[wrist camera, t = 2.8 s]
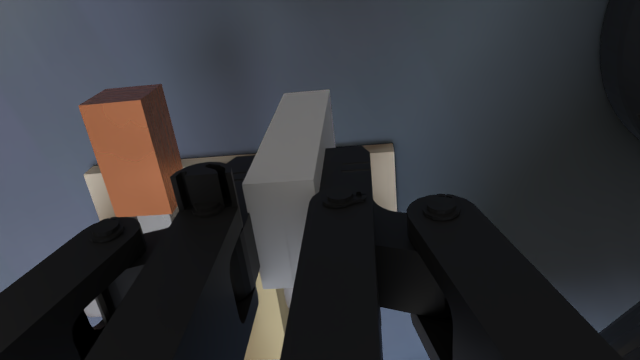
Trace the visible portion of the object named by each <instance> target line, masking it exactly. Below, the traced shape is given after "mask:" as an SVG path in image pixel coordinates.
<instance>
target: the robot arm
mask: <svg viewBox="0 0 640 360" xmlns="http://www.w3.org/2000/svg"><path fill="white" fill-rule="evenodd" d="M600 63H601V72H602V79H603V83H604V87H605V90H606V93H607V96H608V99H609V101H610V103H611V105H612V107H613V109H614V111H615V113H616V114H617V116H618V117H619V119H620V120H621V121H622V123H623V124H624V125H625V126H626V127H627V129H628V130H629V131H630V132H632V133H633V134H634V135H635V136H636V137H637V138H638V139H640V0H610V2H609V5H608V8H607V11H606V15H605V19H604V23H603V29H602V35H601V45H600ZM170 180H171V183H172V187H173V191H174V195H175V198H176V202H177V206H178V209H179V212H178V214H177V215H176V217H175V218H174V220H173V221H172V223H171V225H170V226H169V227H168V228H165V229H161V230H156V231H152V232H148V233H143V231H142V228H141V225H140V223H139V222H138V221H137V220H136V219H135V218H130V217H111V218H110V219H109V218H106V219H103V220H101V221H100V222H98V223H95V224H93V225H91V226H89V227H88V228H86V229H84V230H83V231H81V232H80V233H79V234H77V235H76V236H75V237H73V238H72V239H71V240H69V241H68V242H67V243H65V244H64V245H63V246H61V247H60V248H59V249H57V250H56V251H55V252H54V253H52V254H51V255H50V256H48V257H47V258H46V259H44V260H43V261H42V262H40V263H39V264H38V265H36V266H35V267H34V268H32V269H31V270H30V271H29V272H27V273H26V274H25V275H23V276H22V277H21V278H19V279H18V280H17V281H15V282H14V283H13V284H11V285H10V286H9V287H7V288H6V289H5V290H4V291H2V292H1V293H0V360H244V358H245V354H246V350H247V346H248V342H249V339H250V335H251V331H252V327H253V323H254V320H255V316H256V312H257V308H258V304H259V300H258V293H257V288H256V280H257V277H258V273H259V272H260V277H261V282H262V286H263V289H280V288H293V292H292V298H291V303H290V308H289V314H288V319H287V325H286V330H285V335H284V341H283V346H282V351H281V357H280V360H383V352H382V334H381V312H380V307H383V308H388V309H393V310H398V311H403V312H408V313H411V318H412V323H413V325H414V327H415V329H416V331H417V333H418V336H419V338H420V340H421V342H422V344H423V346H424V348H425V350H426V352H427V354H428V356H429V358H430V360H640V301H639V302H638V303H637V304H636V305H634V306H633V307H632V308H630V309H629V310H628V311H627V312H625V313H624V314H623V315H621V316H620V317H619V318H618V319H616V320H615V321H614V322H612V323H611V324H610V325H609V326H607V327H606V328H605V329H603V330H602V331H601V332H600V333H598V332H597V331H596V330H595V329H594V328H593V327H592V326H591V325H590V324H589V323H588V322H587V321H586V320H585V319H584V318H583V317H582V316H581V315H580V314H579V312H578V311H577V310H576V309H575V308H574V307H573V306H572V305H571V304H570V303H569V302H568V301H567V300H566V299H565V298H564V297H563V296H562V295H561V294H560V293H559V292H558V291H557V290H556V289H555V288H554V287H553V286H552V285H551V284H550V283H549V281H548V280H547V279H546V278H545V277H544V276H543V275H542V274H541V273H540V272H539V271H538V270H537V269H536V268H535V267H534V266H533V265H532V264H531V263H530V262H529V261H528V260H527V259H526V258H525V257H524V256H523V255H522V254H521V253H520V251H519V250H518V249H517V248H516V247H515V246H514V245H513V244H512V243H511V242H510V241H509V240H508V239H507V238H506V237H505V236H504V235H503V234H502V233H501V232H500V231H499V230H498V229H497V228H496V227H495V226H494V225H493V224H492V223H491V222H490V220H489V219H488V218H487V217H486V216H485V215H484V214H483V213H482V212H481V211H480V210H479V209H478V208H477V207H476V206H475V205H474V204H472V203H471V202H469V201H468V200H466V199H464V198H460V197H457V196H454V195H449V194H447V195H445V194H437V195H429V196H426V197H422V198H419V199H417V200H415V201H414V202H412V203H411V204H410V205H409V207H408V209H407V213H400V212H395V211H390V210H387V209H385V208H382V207H381V206H379V205H377V203H376V202H375V201H374V200H373V189H372V175H371V161H370V152H369V151H368V150H366V149H365V148H364V147H363V146H350V147H337V148H336V146H335V136H334V127H333V117H332V108H331V98H330V89H327V90H316V91H305V92H294V93H284V94H283V97H282V99H281V101H280V103H279V105H278V107H277V110H276V112H275V114H274V116H273V118H272V120H271V123H270V125H269V127H268V129H267V131H266V133H265V136H264V138H263V140H262V142H261V144H260V146H259V149H258V151H257V153H256V155H251V156H238V157H235V158H233V159H232V160H231V161H229V162H228V163H222V162H204V163H197V164H194V165H191V166H187V167H185V168H183V169H181V170H179V171H176V172H175V173H174V174H173V175H172V176H170ZM94 299H95V300H96V303H97V305H98V308H99V310H100V313H101V315H102V318H103V319H102V321H101V322H100V323H99V324H97V325H96V326H94V327H92V326H91V325H90V323H89V321H88V318H87V316H86V313H85V311H84V309H85V308H86V307H87V306H88V305H89V304H90V303H91V302H92V301H93V300H94Z"/></svg>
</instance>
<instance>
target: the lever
mask: <svg viewBox="0 0 640 360" xmlns="http://www.w3.org/2000/svg"><path fill="white" fill-rule="evenodd" d="M79 109H80V112H81V115H82V118H83V120H84V123H85V126H86V129H87V132H88V135H89V138H90V141H91V144H92V147H93V150H94V153H95V156H96V159H97V162H98V165H99V168H100V171H101V174H102V177H103V180H104V183H105V186H106V189H107V192H108V195H109V198H110V201H111V204H112V207H113V210H114V213H115V216H116V217H133V216H137V218H138V221H139V223H140V225H141V228H142V231H143V233H148V232H152V231H156V230H161V229H165V228H168V227H169V226H170V225H171V223H172V221H173V220H174V218H175V217H176V215H177V214H178V212H179V210H178V206H177V202H176V198H175V195H174V191H173V187H172V183H171V180H170V176H172V175H173V174H174V173H175V172H176V171H179V170H181V169H183V166H182V162H181V158H180V154H179V150H178V147H177V143H176V139H175V135H174V131H173V127H172V123H171V119H170V115H169V111H168V107H167V104H166V100H165V96H164V92H163V88H162V84H156V85H145V86H135V87H124V88H114V89H105V90H103V91H102V92H100V93H98V94H97V95H95V96H93V97H92V98H90V99H89V100H87V101H85V102H84V103H82V104H80V105H79Z"/></svg>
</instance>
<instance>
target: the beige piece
mask: <svg viewBox="0 0 640 360" xmlns="http://www.w3.org/2000/svg"><path fill="white" fill-rule="evenodd" d="M363 147H364V148H365V149H366V150H368V151H369V152H370V161H371V175H372V189H373V200H374V201H375V202H376V203H377V205H379V206H381V207H382V208H385V209H387V210H390V211H395V212H397V201H396V180H395V160H394V148H393V143H390V144H377V145H363ZM251 155H256V154H245V155H231V156H218V157H205V158H192V159H181V162H182V166H183V168H185V167H187V166H191V165H194V164H197V163H204V162H222V163H228V162H229V161H231V160H232V159H233V158H235V157H238V156H251ZM84 177H85V180H86V183H87V186H88V189H89V191H90V194H91V197H92V200H93V203H94V205H95V208H96V211H97V214H98V217H99V220H100V221H101V220H103V219H106V218H109V219H110V218H111V217H116V216H115V213H114V210H113V207H112V204H111V201H110V198H109V195H108V192H107V189H106V186H105V183H104V180H103V177H102V174H101V171H100V168H99V166H93V167H92V168H90V169H89V170H88V171H87V172H86V173H85V174H84ZM178 210H179V209H178ZM130 218H135V219H136V220H137V221H138V218H137V216H133V217H130ZM138 222H139V221H138ZM256 288H257V293H258V300H259V304H258V308H257V312H256V316H255V320H254V323H253V327H252V331H251V335H250V339H249V342H248V346H247V350H246V354H245V358H244V360H273V359H280V357H281V351H282V346H283V341H284V335H285V330H286V325H287V319H288V314H289V308H290V303H291V298H292V292H293V288H280V289H263V286H262V282H261V277H260V272H259V273H258V277H257V280H256ZM84 311H85V313H86V315H87V316H89V317H102V315H101V313H100V310H99V308H98V305H97V303H96V300H95V299H94V300H93V301H92V302H91V303H90V304H89V305H88V306H87V307H86V308H85V309H84Z"/></svg>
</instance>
